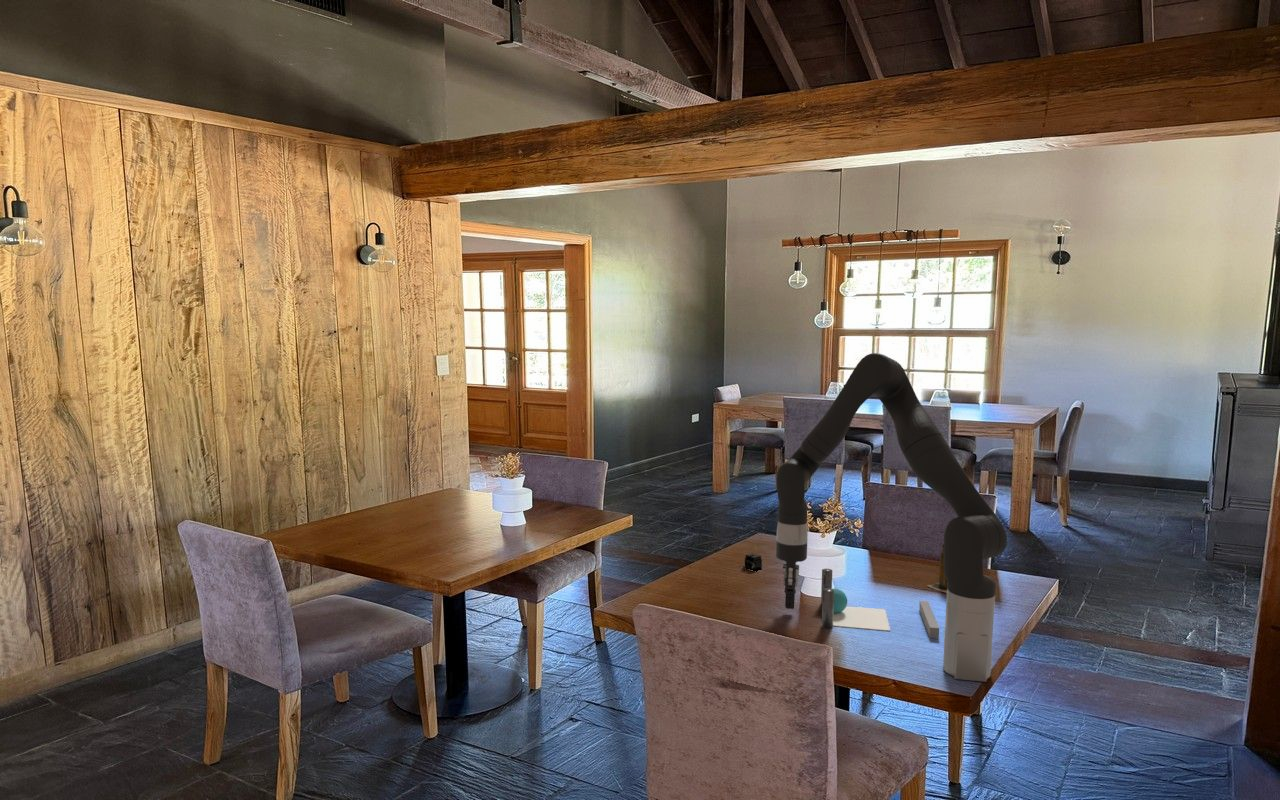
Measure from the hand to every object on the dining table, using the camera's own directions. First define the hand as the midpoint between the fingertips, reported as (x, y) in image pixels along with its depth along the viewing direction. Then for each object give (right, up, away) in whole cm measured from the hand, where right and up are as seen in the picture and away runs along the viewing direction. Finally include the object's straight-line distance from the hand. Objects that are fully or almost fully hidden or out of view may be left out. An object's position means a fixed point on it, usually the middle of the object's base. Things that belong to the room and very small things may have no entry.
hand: (789, 607), depth 199 cm
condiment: (+47, 0, +21) cm, 52 cm away
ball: (+11, +1, +1) cm, 12 cm away
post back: (+11, -1, +7) cm, 13 cm away
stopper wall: (+32, -2, -6) cm, 33 cm away
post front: (+7, -2, -8) cm, 11 cm away
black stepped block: (-4, +1, +36) cm, 36 cm away
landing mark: (+16, -2, -2) cm, 17 cm away
